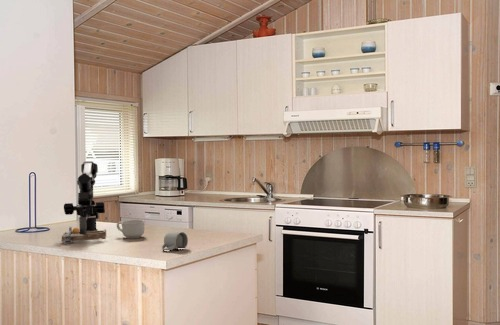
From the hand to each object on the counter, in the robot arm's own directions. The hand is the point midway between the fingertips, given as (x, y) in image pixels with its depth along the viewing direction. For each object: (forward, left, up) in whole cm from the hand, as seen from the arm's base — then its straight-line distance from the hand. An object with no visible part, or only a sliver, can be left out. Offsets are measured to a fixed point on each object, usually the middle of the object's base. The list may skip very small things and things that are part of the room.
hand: (83, 222), depth 251 cm
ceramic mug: (-19, +49, -9) cm, 53 cm away
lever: (+3, -3, -5) cm, 7 cm away
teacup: (-20, +9, -9) cm, 23 cm away
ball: (+1, -8, -7) cm, 11 cm away
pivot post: (+9, +1, -9) cm, 12 cm away
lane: (-3, -6, -9) cm, 11 cm away
